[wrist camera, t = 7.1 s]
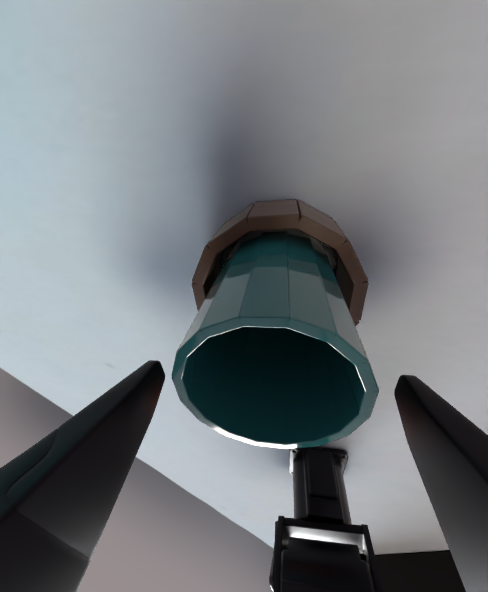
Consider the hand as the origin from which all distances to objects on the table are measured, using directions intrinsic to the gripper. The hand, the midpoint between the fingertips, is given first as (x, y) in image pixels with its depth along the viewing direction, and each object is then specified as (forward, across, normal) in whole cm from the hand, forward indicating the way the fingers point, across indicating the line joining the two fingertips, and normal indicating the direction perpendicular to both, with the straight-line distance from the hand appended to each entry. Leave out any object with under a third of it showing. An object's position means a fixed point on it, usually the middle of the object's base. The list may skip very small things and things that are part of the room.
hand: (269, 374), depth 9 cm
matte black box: (+9, -34, +68) cm, 76 cm away
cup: (+9, 0, 0) cm, 9 cm away
